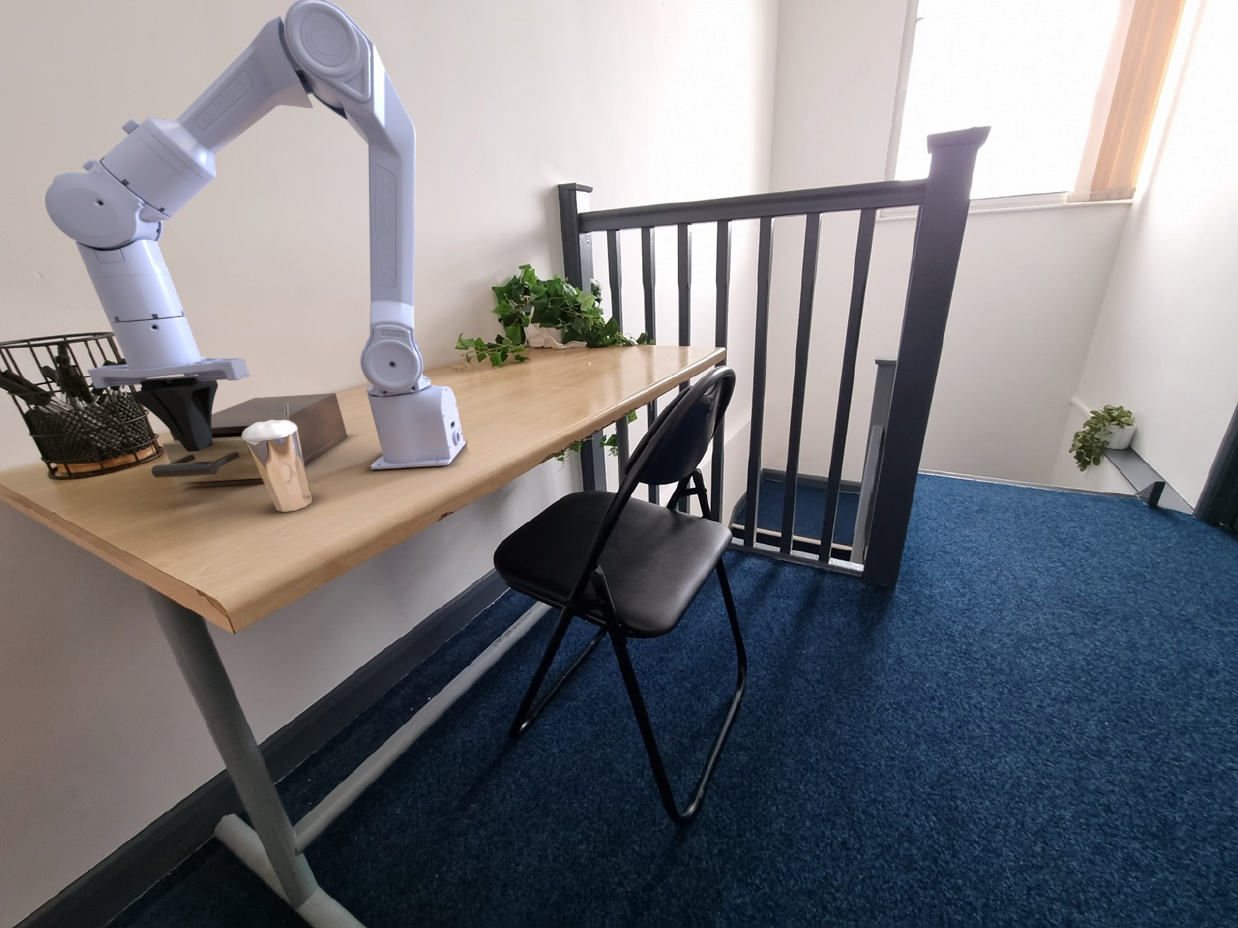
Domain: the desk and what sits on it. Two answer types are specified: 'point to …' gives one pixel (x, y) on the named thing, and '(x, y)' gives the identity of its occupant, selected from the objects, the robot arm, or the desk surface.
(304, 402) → the cabinet
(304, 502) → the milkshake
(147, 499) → the desk surface
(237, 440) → the drawer
